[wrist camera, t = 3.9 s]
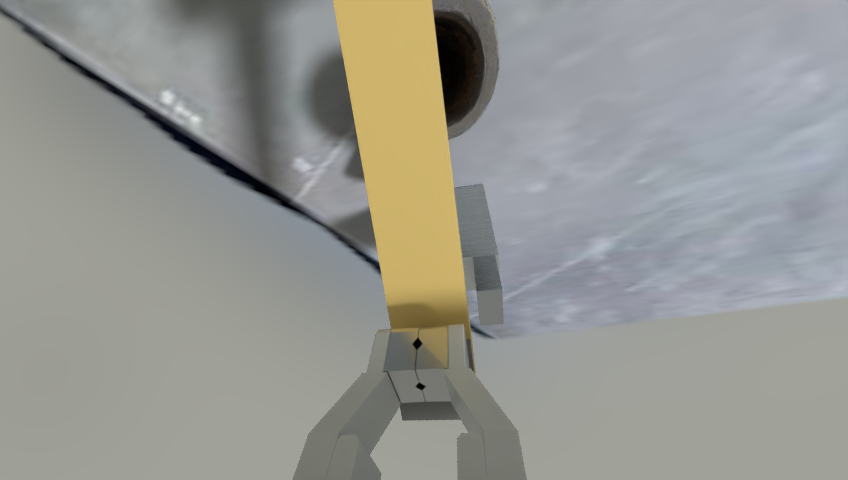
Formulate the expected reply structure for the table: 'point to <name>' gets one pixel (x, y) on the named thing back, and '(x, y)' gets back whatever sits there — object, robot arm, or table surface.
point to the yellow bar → (406, 167)
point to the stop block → (479, 252)
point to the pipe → (466, 59)
